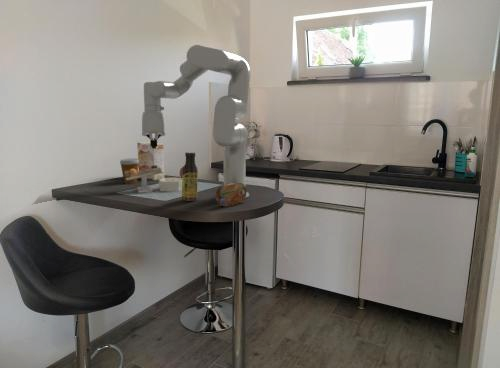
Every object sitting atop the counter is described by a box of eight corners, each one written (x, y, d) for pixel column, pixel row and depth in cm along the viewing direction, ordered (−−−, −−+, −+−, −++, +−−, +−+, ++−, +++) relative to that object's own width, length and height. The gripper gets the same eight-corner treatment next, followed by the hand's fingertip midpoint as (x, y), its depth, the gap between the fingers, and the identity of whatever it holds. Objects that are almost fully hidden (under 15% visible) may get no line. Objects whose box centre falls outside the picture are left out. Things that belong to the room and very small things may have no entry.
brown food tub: (117, 182, 190) (115, 159, 188) (132, 180, 198) (131, 157, 196) (128, 184, 185) (127, 161, 183) (144, 182, 193) (143, 159, 190)
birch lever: (162, 172, 170) (160, 165, 169) (126, 180, 165) (124, 173, 164) (158, 168, 181) (157, 162, 181) (125, 175, 177) (123, 169, 176)
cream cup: (185, 190, 172) (185, 181, 171) (161, 192, 168) (160, 182, 167) (181, 186, 183) (181, 177, 182) (158, 187, 179) (157, 178, 178)
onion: (195, 180, 200) (195, 161, 198) (200, 183, 192) (199, 164, 190) (178, 181, 197) (177, 162, 195) (181, 184, 188) (181, 164, 186)
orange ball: (137, 175, 167) (135, 168, 166) (130, 176, 166) (128, 170, 165) (137, 174, 170) (135, 167, 169) (130, 175, 169) (128, 169, 168)
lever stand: (152, 192, 168) (151, 173, 166) (138, 192, 166) (137, 174, 164) (150, 188, 176) (149, 171, 175) (137, 189, 174) (136, 171, 173)
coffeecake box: (138, 176, 209) (136, 142, 205) (149, 175, 214) (147, 141, 210) (154, 180, 199) (152, 143, 196) (164, 178, 205) (163, 143, 201)
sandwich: (219, 208, 140) (219, 186, 139) (214, 207, 142) (214, 185, 141) (246, 202, 151) (247, 181, 149) (241, 200, 153) (241, 180, 152)
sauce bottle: (184, 202, 149) (183, 153, 145) (180, 199, 154) (179, 151, 151) (199, 201, 151) (199, 152, 148) (195, 198, 157) (195, 151, 153)
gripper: (167, 109, 180) (168, 147, 183) (135, 109, 175) (137, 147, 178) (169, 109, 173) (170, 148, 176) (136, 108, 168) (138, 149, 171)
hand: (154, 148), depth 177 cm, fingers closed
